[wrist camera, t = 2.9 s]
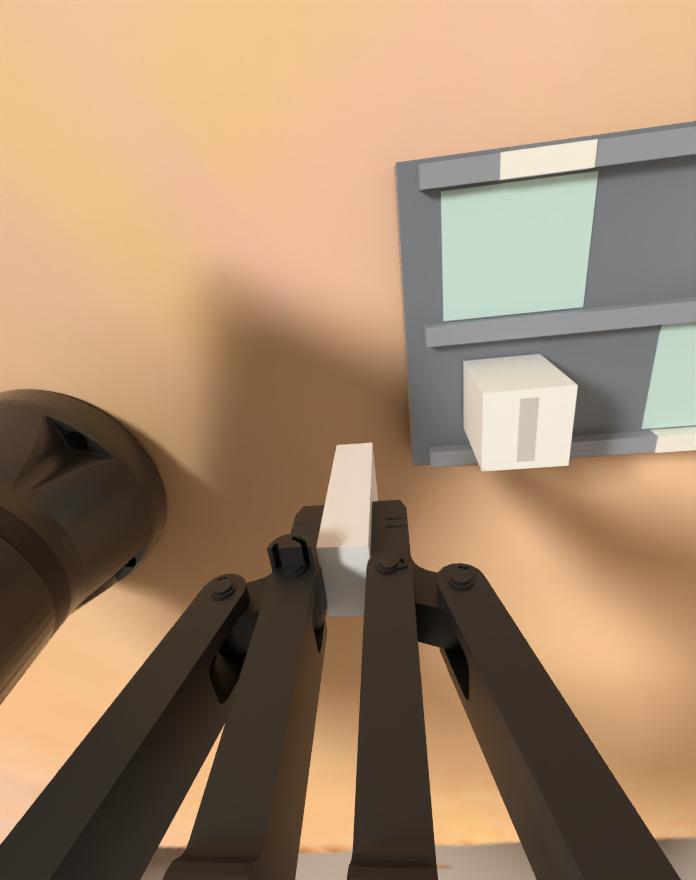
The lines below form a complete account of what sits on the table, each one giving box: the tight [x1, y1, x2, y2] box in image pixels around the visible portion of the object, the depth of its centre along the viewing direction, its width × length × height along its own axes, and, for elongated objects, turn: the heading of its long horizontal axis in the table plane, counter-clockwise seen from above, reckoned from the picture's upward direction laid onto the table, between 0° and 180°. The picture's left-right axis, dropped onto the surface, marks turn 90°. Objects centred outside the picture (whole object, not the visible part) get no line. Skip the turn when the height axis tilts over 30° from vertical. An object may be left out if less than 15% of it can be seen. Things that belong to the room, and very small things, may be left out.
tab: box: [463, 354, 578, 471], centre depth 23 cm, size 4×4×5 cm
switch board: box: [394, 121, 696, 468], centre depth 23 cm, size 22×16×3 cm
